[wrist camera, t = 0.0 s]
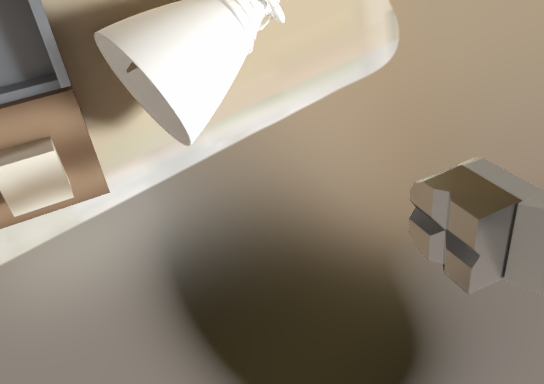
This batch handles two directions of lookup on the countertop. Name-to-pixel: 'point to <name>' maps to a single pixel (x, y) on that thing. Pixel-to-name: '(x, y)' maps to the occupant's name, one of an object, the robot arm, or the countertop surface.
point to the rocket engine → (184, 57)
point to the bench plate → (66, 138)
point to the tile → (33, 176)
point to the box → (28, 52)
